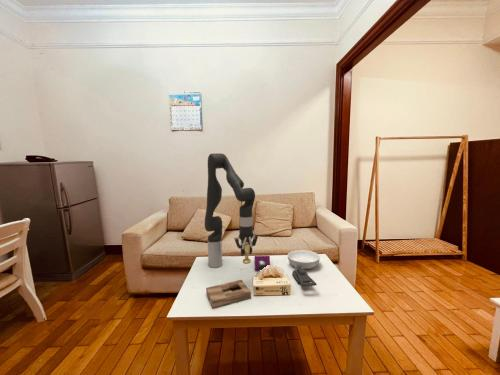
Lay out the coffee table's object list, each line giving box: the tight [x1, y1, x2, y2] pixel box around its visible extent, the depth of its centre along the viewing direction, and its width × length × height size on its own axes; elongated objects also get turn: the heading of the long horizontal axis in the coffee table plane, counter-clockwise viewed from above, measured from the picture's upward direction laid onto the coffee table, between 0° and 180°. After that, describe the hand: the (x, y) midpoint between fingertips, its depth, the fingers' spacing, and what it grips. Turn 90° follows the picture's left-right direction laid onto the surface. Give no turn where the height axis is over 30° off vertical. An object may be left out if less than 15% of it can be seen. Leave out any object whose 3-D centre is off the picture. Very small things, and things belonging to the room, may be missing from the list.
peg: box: [242, 242, 252, 265], centre depth 131 cm, size 4×4×11 cm
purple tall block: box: [253, 255, 271, 271], centre depth 157 cm, size 10×8×18 cm
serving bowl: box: [287, 249, 321, 270], centre depth 156 cm, size 21×21×7 cm
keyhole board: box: [205, 279, 252, 310], centre depth 122 cm, size 13×20×4 cm, turn 114°
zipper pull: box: [291, 266, 317, 287], centre depth 134 cm, size 9×7×25 cm
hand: (246, 254), depth 131 cm, fingers closed on peg, 3 cm apart
